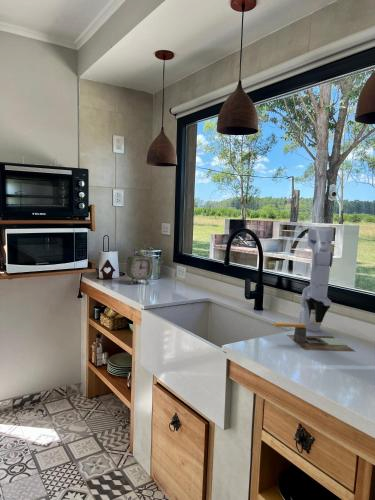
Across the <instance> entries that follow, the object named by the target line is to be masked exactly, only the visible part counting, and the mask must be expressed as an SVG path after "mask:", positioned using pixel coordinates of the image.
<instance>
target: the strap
mask: <svg viewBox="0 0 375 500" xmlns="http://www.w3.org/2000/svg"><path fill="white" fill-rule="evenodd" d="M306 326H307V325H306V324H304V323H299V322H278V321H277V322H274V327H278V328H279V327H280V328H295V327H300V328H306Z"/></svg>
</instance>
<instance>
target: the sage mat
mask: <svg viewBox="0 0 375 500" xmlns="http://www.w3.org/2000/svg"><path fill="white" fill-rule="evenodd" d="M320 339H321V340H322V341H324V342H325V343H327V344H328V345H338V346H348V344H346V343H345V342H343V341H342V340H340V339H339V338H336V337H334V338H320Z"/></svg>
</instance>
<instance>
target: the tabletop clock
mask: <svg viewBox="0 0 375 500" xmlns="http://www.w3.org/2000/svg"><path fill="white" fill-rule="evenodd" d="M139 245H140V246H144V248H141V247H140V248H139V249H138V248H137V246H139ZM146 246H147V245H145V244H144V243H137V244H135V246H134V248H135V250H136V253H135V254H130V255H128V256H127V260H126V265H125V267H126V269H125V270H126V271H125V272H126V276H127V277H129V278H130V279H131V281H130V282H129V284H130V285H131V286H132V285H133V281H134V280H135V281H134V282H135V283H136V284H138V283H139V280H144V281H145V282H146V284H147V285H149V284H150V282H149V281H148V279H150V278H152V274H153V268H154V267H153V266H154V264H153V263H154V262H153V258H152V257H150V256H147V255H145V252H143V251H145V250H146V248H147V247H146Z"/></svg>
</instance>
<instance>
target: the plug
mask: <svg viewBox="0 0 375 500" xmlns="http://www.w3.org/2000/svg"><path fill="white" fill-rule="evenodd" d="M310 324H311V325H315V326H320V327H321V326H322V323H319V322H316V320H315V309H312V310H311V315H310Z"/></svg>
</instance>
